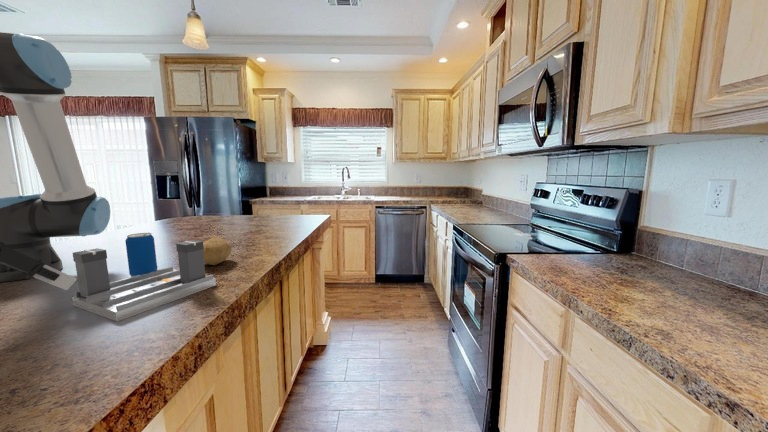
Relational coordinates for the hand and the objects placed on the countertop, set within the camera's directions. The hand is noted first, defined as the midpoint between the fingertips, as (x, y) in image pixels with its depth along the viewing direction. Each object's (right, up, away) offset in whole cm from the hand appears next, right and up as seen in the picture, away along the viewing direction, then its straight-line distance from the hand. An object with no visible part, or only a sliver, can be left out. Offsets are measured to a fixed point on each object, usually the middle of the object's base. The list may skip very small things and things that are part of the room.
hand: (70, 284), depth 66 cm
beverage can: (-3, -3, +24) cm, 24 cm away
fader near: (+1, -3, +4) cm, 6 cm away
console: (+10, -5, +9) cm, 15 cm away
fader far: (+19, -2, +13) cm, 23 cm away
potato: (+12, -1, +35) cm, 37 cm away
